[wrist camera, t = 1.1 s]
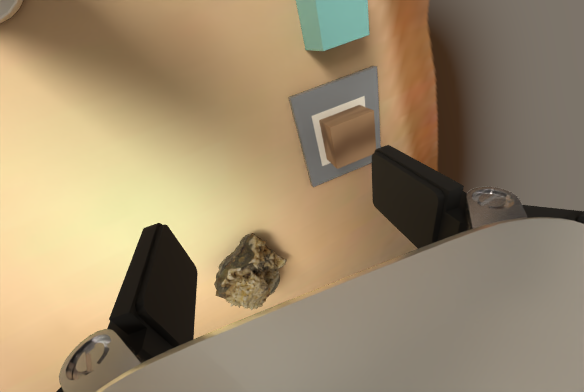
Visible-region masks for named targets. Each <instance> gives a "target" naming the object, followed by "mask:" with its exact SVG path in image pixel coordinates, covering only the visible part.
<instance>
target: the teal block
mask: <svg viewBox="0 0 584 392" xmlns="http://www.w3.org/2000/svg"><path fill="white" fill-rule="evenodd" d="M296 4H297V9H298V14H299V19H300V24H301V29H302V34H303V39H304V44H305V49H306V50H314V51H325V50H328V49H331V48H334V47H337V46H339V45H342V44H345V43H348V42H351V41H353V40H356V39H359V38H362V37H365V36H367V35H369V20H368V2H367V0H296Z"/></svg>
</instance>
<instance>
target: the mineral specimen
mask: <svg viewBox="0 0 584 392" xmlns="http://www.w3.org/2000/svg"><path fill="white" fill-rule="evenodd" d="M265 243H266V241H262V240H261V239H260V238H258V237H256V236H255V235H254V234H251V235H246V236H245V237H243V239H242V240H241V241H240V244H239V246H238V247H237V248H236V249H235V251H234V252H233V253H232V254H231V255H229V256H227V257H226V259H224V260H223V262H222V263H221V264H220V265H219V272H218V273H217V275H216V282H215V284H214V285H215V287H216V289H217V291H216V296H219V297H222V298H224V299H226V300H227V301H229V303H231V306H233V305H235V306H237V305H238V307H239V308H240V306H243V307H245V308H250V309H251V310H252V309H257V308H258V307H262V303H264V302H265V301H266V298H267V297H268V296H269V295H271V294H272V293H274V292H275V289H276V288H277V286H278V284H279V281H280V275H279V271H278V268H280V267H283V265H286V264H285V263H286V259H284V258H282V257H280V256H278V255H277V254H276V253H275V251H273V250H270V249H268V248H267V247H266V246H265Z"/></svg>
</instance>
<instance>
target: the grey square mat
mask: <svg viewBox="0 0 584 392" xmlns="http://www.w3.org/2000/svg"><path fill="white" fill-rule="evenodd" d="M288 98H289V101H290V105H291V109H292V113H293V117H294V121H295V124H296V128H297V132H298V136H299V140H300V143H301V147H302V151H303V155H304V159H305V163H306V166H307V170H308V174H309V178H310V182H311V185H312V186H313V187H315V186H317V185H320V184H322V183H324V182H327V181H329V180H332V179H334V178H336V177H339V176H341V175H344V174H346V173H348V172H351V171H353V170H356V169H358V168H360V167H363V166H365V165H368V164H370V163H372V155H370V156H368V157H365V158H363V159H360V160H358V161H356V162H353V163H351V164H348V165H346V166H343V167H341V168H339V169H337V168H336V167H335V166H334V165H333V164H331V163H330V162H329V161H328V160H327V158H326V153H325V148H324V143H323V138H322V133H321V127H320V122H319V120H321V119H324V118H326V117H329V116H332V115H334V114H337V113H339V112H342V111H345V110H347V109H350V108H352V107H355V106H357V105H361V106H364V107H366V108H369V109H371V110H374V120H375V137H376V149H378V148H381V145H380V122H379V100H378V77H377V66H372V67H369V68H366V69H363V70H361V71H358V72H355V73H353V74H350V75H347V76H345V77H342V78H339V79H336V80H334V81H331V82H328V83H326V84H323V85H320V86H318V87H315V88H312V89H309V90H307V91H304V92H301V93H299V94H296V95H293V96H291V97H288Z"/></svg>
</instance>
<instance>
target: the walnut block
mask: <svg viewBox="0 0 584 392" xmlns="http://www.w3.org/2000/svg"><path fill="white" fill-rule="evenodd" d="M319 122H320V127H321V133H322V138H323V143H324V148H325V153H326V158H327V160H328V161H329V162H330V163H331V164H333V165H334V166H335V167H336V168H337V169H339V168H341V167H343V166H346V165H348V164H351V163H353V162H356V161H358V160H360V159H363V158H365V157H368V156H370V155H372V154H373V153H374V152H375V150H376V137H375V120H374V110H371V109H369V108H366V107H364V106H361V105H357V106H355V107H352V108H350V109H347V110H345V111H342V112H339V113H337V114H334V115H332V116H329V117H326V118H324V119H321V120H319Z"/></svg>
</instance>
